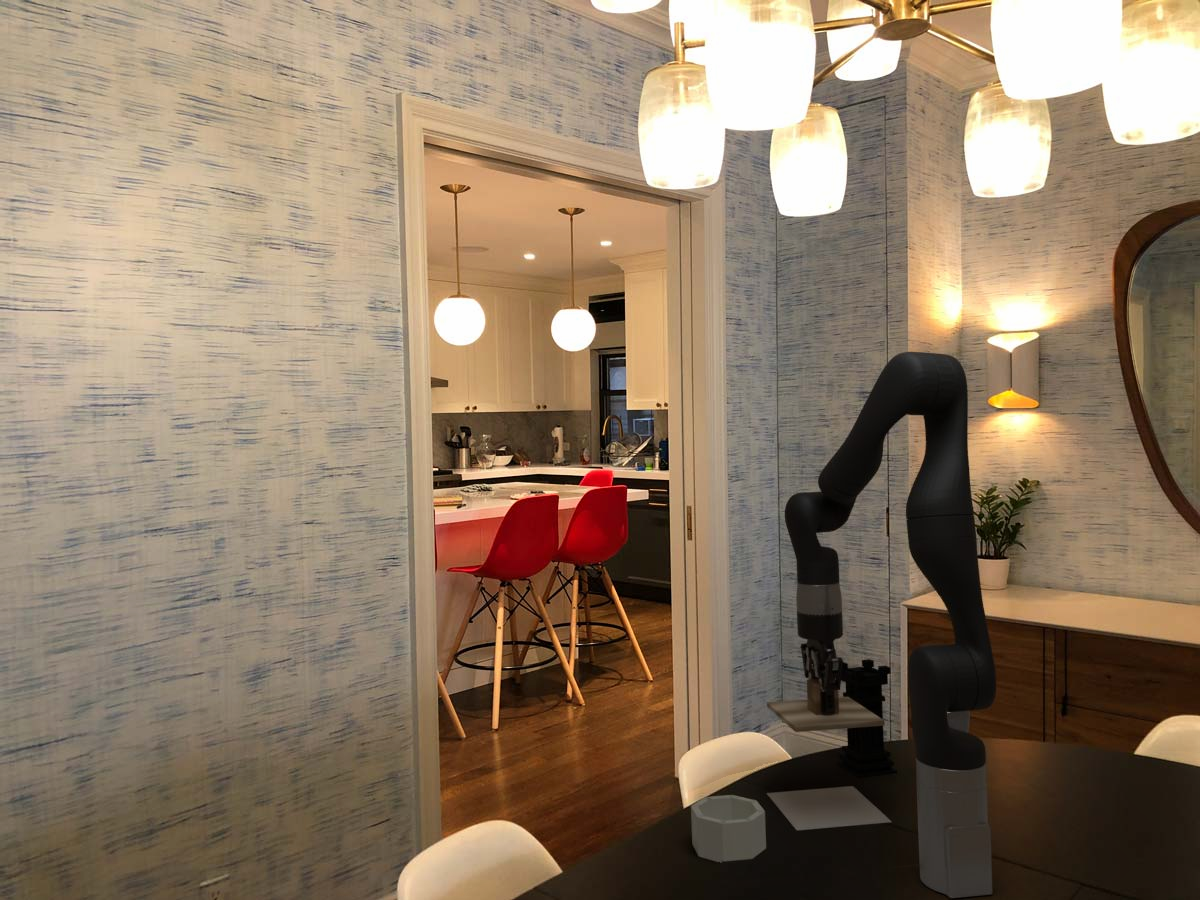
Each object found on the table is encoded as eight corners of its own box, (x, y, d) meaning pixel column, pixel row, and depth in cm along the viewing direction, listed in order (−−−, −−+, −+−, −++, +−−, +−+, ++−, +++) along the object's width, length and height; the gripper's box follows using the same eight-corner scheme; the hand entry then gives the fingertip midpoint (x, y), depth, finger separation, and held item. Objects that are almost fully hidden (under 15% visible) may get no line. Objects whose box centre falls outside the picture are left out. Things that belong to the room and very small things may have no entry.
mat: (892, 824, 148) (892, 821, 148) (796, 832, 146) (796, 830, 146) (852, 788, 163) (852, 786, 163) (766, 795, 161) (766, 793, 161)
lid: (884, 725, 148) (883, 689, 148) (795, 732, 146) (794, 696, 146) (848, 701, 163) (847, 668, 163) (767, 706, 161) (765, 674, 161)
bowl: (772, 859, 137) (771, 819, 137) (703, 865, 135) (702, 825, 135) (752, 830, 147) (750, 793, 147) (688, 835, 146) (686, 798, 146)
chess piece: (859, 780, 167) (855, 671, 167) (836, 766, 175) (833, 662, 175) (897, 774, 169) (893, 667, 169) (873, 761, 177) (869, 658, 177)
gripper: (857, 614, 148) (861, 720, 148) (825, 601, 162) (828, 697, 162) (812, 617, 147) (816, 723, 147) (784, 603, 161) (788, 700, 161)
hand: (822, 709), depth 154 cm, fingers closed on lid, 4 cm apart
